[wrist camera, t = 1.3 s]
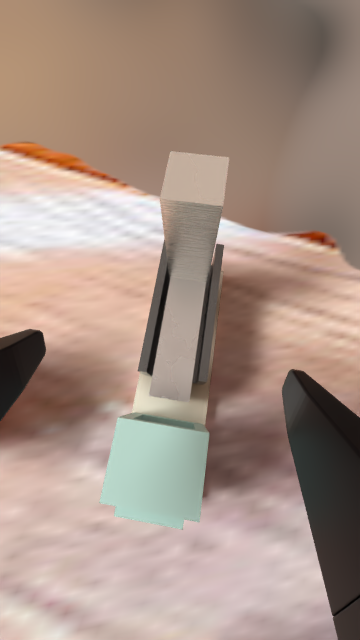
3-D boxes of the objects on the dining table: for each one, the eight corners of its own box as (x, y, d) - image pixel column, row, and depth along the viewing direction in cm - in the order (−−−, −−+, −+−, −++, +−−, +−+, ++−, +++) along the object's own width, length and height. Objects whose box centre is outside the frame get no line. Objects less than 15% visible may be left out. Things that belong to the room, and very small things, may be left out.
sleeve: (167, 263, 24) (164, 237, 20) (217, 270, 24) (223, 244, 20) (146, 375, 21) (137, 370, 17) (202, 384, 21) (207, 381, 17)
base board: (162, 268, 25) (161, 263, 24) (221, 275, 25) (223, 271, 24) (119, 484, 20) (116, 488, 19) (195, 498, 19) (195, 504, 18)
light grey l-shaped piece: (176, 261, 23) (170, 151, 13) (208, 265, 23) (229, 157, 13) (151, 395, 20) (116, 393, 9) (189, 402, 19) (196, 407, 9)
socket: (134, 412, 20) (117, 417, 15) (202, 424, 20) (209, 433, 15) (119, 486, 19) (95, 519, 14) (193, 500, 19) (197, 539, 13)
